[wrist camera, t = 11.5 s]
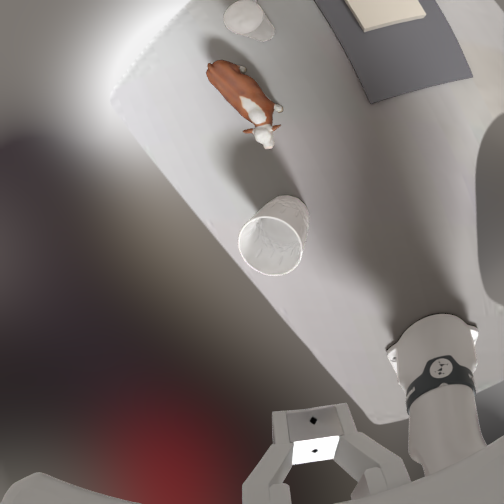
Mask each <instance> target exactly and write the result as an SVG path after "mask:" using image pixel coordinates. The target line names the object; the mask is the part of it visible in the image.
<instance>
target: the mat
mask: <svg viewBox="0 0 504 504" xmlns="http://www.w3.org/2000/svg"><path fill="white" fill-rule="evenodd" d="M314 1H315V2H316V4H317V5H318V7H319V8H320V10H321V11H322V13H323V14H324V16H325V18H326V19H327V21H328V23H329V24H330V26H331V27H332V29H333V31H334V33H335V34H336V36H337V38H338V40H339V41H340V43H341V45H342V47H343V49H344V50H345V52H346V54H347V56H348V58H349V60H350V62H351V64H352V66H353V68H354V70H355V72H356V74H357V76H358V78H359V80H360V82H361V84H362V86H363V88H364V91H365V93H366V95H367V97H368V99H369V102H370V104H372V103H375V102H378V101H381V100H384V99H388V98H391V97H394V96H398V95H401V94H405V93H408V92H412V91H416V90H420V89H423V88H427V87H431V86H435V85H440V84H444V83H448V82H453V81H457V80H462V79H467V78H472V77H473V75H472V73H471V70H470V68H469V65H468V63H467V61H466V58H465V56H464V54H463V51H462V49H461V47H460V45H459V43H458V41H457V39H456V37H455V35H454V33H453V31H452V29H451V27H450V25H449V23H448V22H447V20H446V18H445V16H444V14H443V13H442V11H441V9H440V7H439V6H438V4H437V3H436V1H435V0H418V1H419V3H420V4H421V6H422V8H423V9H424V11H425V13H426V16H425V17H424V18H421V19H416V20H411V21H407V22H402V23H398V24H393V25H389V26H385V27H382V28H378V29H374V30H371V31H367V32H363V30H362V28H361V26H360V25H359V23H358V21H357V20H356V18H355V17H354V15H353V13H352V12H351V10H350V9H349V7H348V5H347V4H346V2H345V1H344V0H314Z"/></svg>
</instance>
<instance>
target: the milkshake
mask: <svg viewBox="0 0 504 504" xmlns="http://www.w3.org/2000/svg"><path fill="white" fill-rule="evenodd" d="M223 20H224V23H225V26H226V27H227V29H229V30H230V31H231V32H233V33H236V34H240V35H243V36H247V37H250V38H252V39H255V40H258V41H261V42H265V41H269V40H271V39H272V38H273V36H274V35H275V28H274V26H273V25H272V23H271V22H270V21H269V19H268V18H267V16H266V14H265V13H264V11H263V10H262V8H261V7H260V6H259V5H258V4H257V0H254V2H253V1H250V0H241V1H237V2H235V3H233V4H232V5H231V6H229V7H228V8H227V10H226V11H225V13H224V15H223Z"/></svg>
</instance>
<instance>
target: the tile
mask: <svg viewBox="0 0 504 504" xmlns="http://www.w3.org/2000/svg"><path fill="white" fill-rule="evenodd" d="M344 1H345V2H346V4H347V5H348V7H349V9H350V10H351V12H352V13H353V15H354V17H355V18H356V20H357V21H358V23H359V25H360V26H361V28H362V30H363V32H367V31H371V30H374V29H378V28H382V27H385V26H389V25H393V24H398V23H402V22H407V21H411V20H416V19H421V18H424V17H425V16H426V13H425V11H424V9H423V8H422V6H421V4H420V3H419V1H418V0H344Z"/></svg>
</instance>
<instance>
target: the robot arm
mask: <svg viewBox="0 0 504 504" xmlns="http://www.w3.org/2000/svg"><path fill="white" fill-rule="evenodd" d="M477 337H478V329H477V328H476V327H474V326H470V325H467V324H466V323H465V322H464V321H463V320H462V319H460V318H459V317H457V316H454V315H450V314H436V315H432V316H428V317H425V318H423V319H421V320H419V321H417V322H416V323H414V324H413V325H411V326H410V327H409V328H408V329H407V330H406V331H405V332H404V333H403V335H402V336H401V338H400V339H399V341H398V342H397V343H396V344H394V345H393V346H392V347H390V348H389V349H388V350H387V357H388V359H389V361H390V363H391V365H392V366H393V368H394V370H395V372H396V374H397V377H398V384H400V385H401V387H402V389H403V390H404V392H405V393H406V407H407V413H408V415H409V445H408V451H409V454H410V456H411V458H412V459H413V460H414V461H416V462H418V463H420V464H422V466H423V469H424V473H425V477H424V478H421V479H418V480H416V481H413V482H411V480H410V478H409V475H408V473H407V470H406V468H405V466H404V463H403V460H402V458H400V457H398V456H397V455H395V454H394V453H392V452H391V451H389V450H388V449H386V448H384V447H383V446H381V445H380V444H378V443H377V442H375V441H374V440H372V439H371V438H370V437H368V436H367V435H365V434H364V433H362V432H357V429H356V427H355V424H354V421H353V418H352V415H351V412H350V410H349V407H348V404H346V403H342V404H336V405H328V406H322V407H316V408H310V409H302V410H291V411H277V412H272V431H273V432H272V433H273V445H271V446H270V448H269V449H268V451H267V452H266V453H265V455H264V456H263V458H262V459H261V461H260V462H259V463H258V465H257V466H256V467H255V469H254V470H253V471H252V473H251V474H250V475H249V477H248V478H247V480H246V481H245V482H244V483H243V485H242V504H291V497H290V489H289V485H287V484H285V483H283V484H282V482H283V481H284V479H285V477H286V475H287V474H288V472H289V470H290V468H291V467H292V464H298V463H305V462H312V461H319V460H326V459H334V461H336V463H338V464H339V465H340V466H341V467H342V468H343V469H344V470H345V471H346V472H347V473H348V474H350V475H351V476H352V477H353V478H354V479H355V480H357V482H358V484H357V486H356V487H355V489H354V491H353V492H352V494H351V498H352V500H350V501H346V502H341V503H337V504H504V436H502V437H501V438H499V439H497V440H496V441H494V442H493V443H491V444H489V445H488V446H487V444H486V443H485V441H484V439H483V437H482V434H481V431H480V426H479V421H478V416H477V410H476V405H475V399H474V397H475V394H476V390H475V381H474V378H473V373H474V371H475V370H476V366H477V364H478V361H477V355H476V351H475V343H476V340H477ZM1 504H140V503H135V502H130V501H126V500H121V499H118V498H114V497H110V496H106V495H103V494H99V493H96V492H93V491H90V490H86V489H83V488H80V487H78V486H75V485H72V484H69V483H66V482H64V481H61V480H59V479H56V478H54V477H52V476H49V475H47V474H44V473H40V472H38V473H34V474H32V475H30V476H27V477H25V478H23V479H21V480H19V481H17V482H15V483H14V484H13V485H12V486H11V487H10V488H9V489H8V491H7V492H6V494H5V496H4V498H3V500H2V502H1Z"/></svg>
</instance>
